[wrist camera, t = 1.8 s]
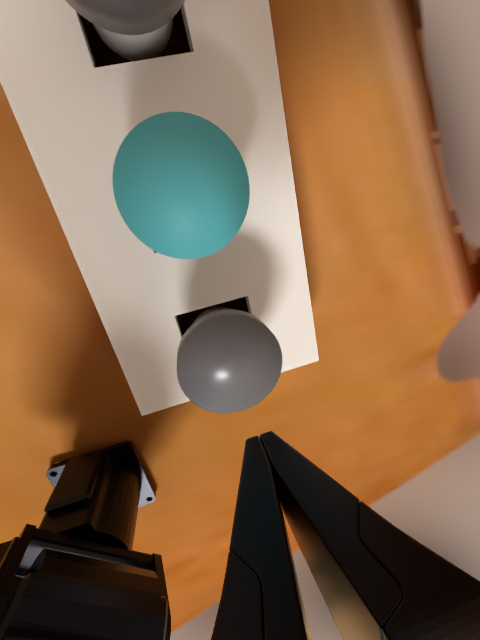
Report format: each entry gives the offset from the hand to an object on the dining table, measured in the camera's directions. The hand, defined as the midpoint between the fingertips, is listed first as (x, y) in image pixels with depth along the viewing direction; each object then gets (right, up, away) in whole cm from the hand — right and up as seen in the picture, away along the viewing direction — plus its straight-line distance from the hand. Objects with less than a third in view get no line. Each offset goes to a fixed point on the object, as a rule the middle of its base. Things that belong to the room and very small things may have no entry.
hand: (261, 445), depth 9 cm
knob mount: (-4, +11, +9) cm, 15 cm away
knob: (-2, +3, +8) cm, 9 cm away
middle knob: (-4, +10, +6) cm, 12 cm away
